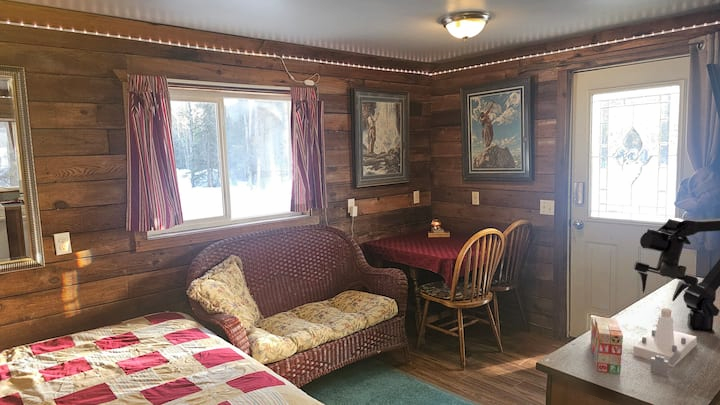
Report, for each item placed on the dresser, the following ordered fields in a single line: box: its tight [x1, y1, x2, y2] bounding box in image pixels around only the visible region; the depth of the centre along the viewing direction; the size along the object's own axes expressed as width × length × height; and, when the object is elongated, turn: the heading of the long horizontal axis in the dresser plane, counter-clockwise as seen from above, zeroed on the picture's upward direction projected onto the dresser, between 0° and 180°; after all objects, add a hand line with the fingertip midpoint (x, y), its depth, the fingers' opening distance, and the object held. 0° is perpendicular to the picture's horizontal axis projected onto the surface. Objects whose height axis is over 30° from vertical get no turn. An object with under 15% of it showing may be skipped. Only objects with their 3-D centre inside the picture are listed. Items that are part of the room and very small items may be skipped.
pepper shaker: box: [654, 308, 675, 346], centre depth 151 cm, size 5×5×11 cm
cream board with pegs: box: [632, 329, 697, 368], centre depth 153 cm, size 22×11×5 cm, turn 130°
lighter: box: [650, 350, 682, 377], centre depth 137 cm, size 7×2×8 cm, turn 53°
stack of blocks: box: [590, 316, 624, 375], centre depth 149 cm, size 21×6×12 cm, turn 159°
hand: (657, 296), depth 167 cm, fingers open, 9 cm apart
